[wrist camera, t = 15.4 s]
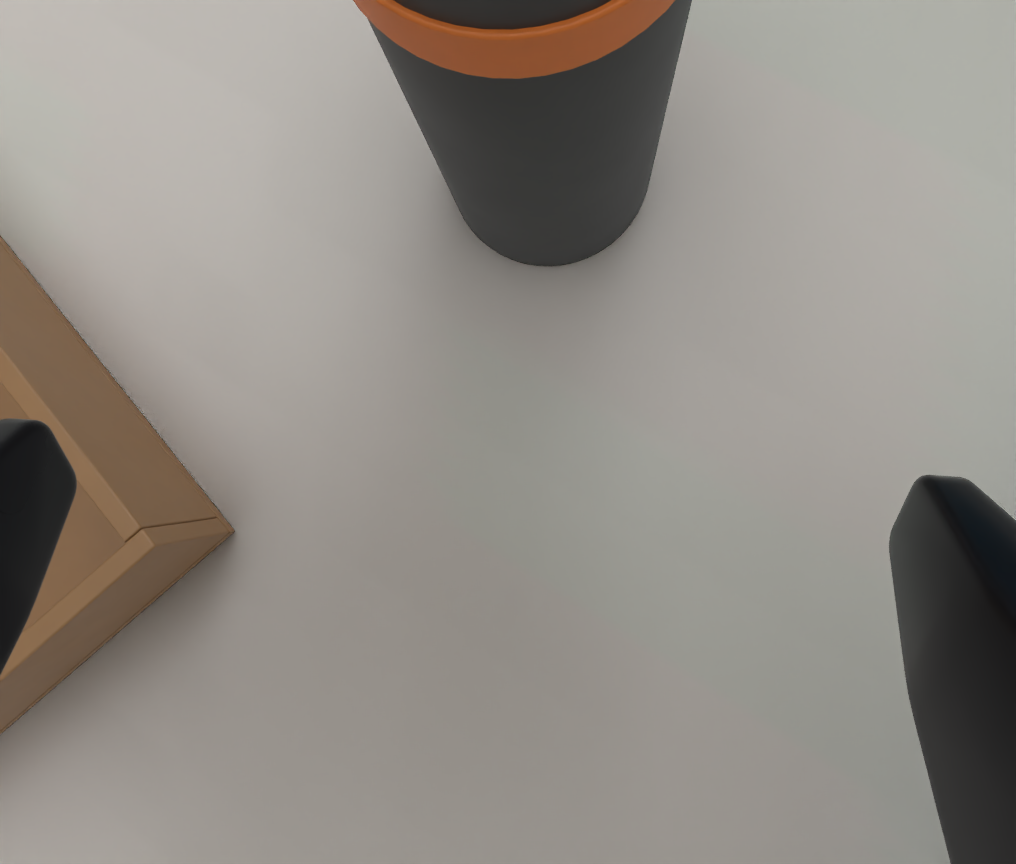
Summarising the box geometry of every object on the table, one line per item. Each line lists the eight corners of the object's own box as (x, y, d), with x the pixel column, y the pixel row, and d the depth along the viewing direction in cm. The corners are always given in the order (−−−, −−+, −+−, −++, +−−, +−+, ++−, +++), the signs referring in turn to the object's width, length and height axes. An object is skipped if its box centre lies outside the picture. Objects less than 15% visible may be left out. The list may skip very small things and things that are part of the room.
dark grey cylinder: (588, 307, 20) (599, 61, 8) (411, 210, 20) (162, -161, 8) (692, 125, 20) (864, -408, 8) (511, 32, 20) (408, -601, 8)
